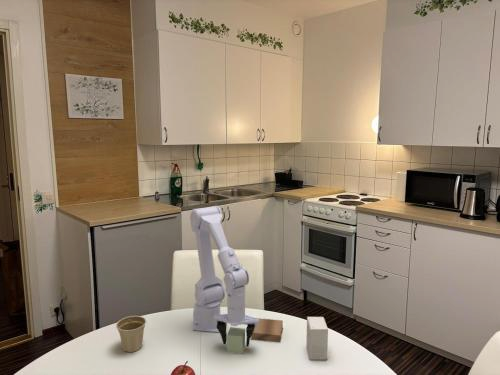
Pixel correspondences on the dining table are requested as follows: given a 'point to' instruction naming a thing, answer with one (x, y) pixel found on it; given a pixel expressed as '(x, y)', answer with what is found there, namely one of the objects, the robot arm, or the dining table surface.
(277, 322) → the walnut pad
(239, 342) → the sage block
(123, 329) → the flower pot
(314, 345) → the small box
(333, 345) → the dining table surface
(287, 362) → the dining table surface
